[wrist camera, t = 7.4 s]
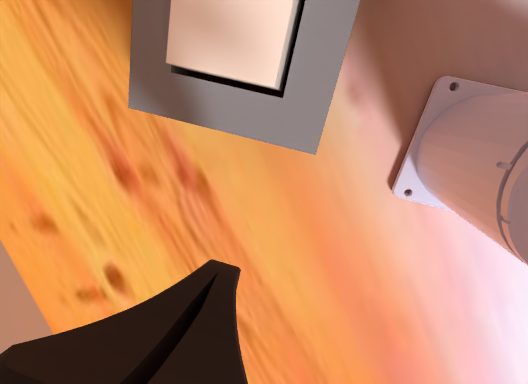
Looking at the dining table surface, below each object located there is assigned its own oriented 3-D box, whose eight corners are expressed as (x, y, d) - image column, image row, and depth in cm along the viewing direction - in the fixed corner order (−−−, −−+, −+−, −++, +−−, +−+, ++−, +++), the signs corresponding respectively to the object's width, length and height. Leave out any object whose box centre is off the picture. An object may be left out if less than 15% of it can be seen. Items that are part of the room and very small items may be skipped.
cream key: (307, -25, 14) (306, -59, 11) (281, 91, 16) (274, 87, 13) (204, -44, 15) (177, -80, 12) (190, 70, 17) (165, 62, 14)
